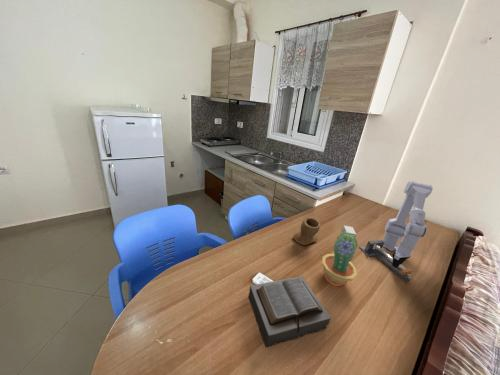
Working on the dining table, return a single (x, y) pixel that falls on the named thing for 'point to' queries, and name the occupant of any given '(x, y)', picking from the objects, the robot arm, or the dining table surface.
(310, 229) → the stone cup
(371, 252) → the grey hammer
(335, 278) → the potted cactus
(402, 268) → the metal rod with plate
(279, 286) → the bible
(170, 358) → the dining table surface
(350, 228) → the small box
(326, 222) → the dining table surface
